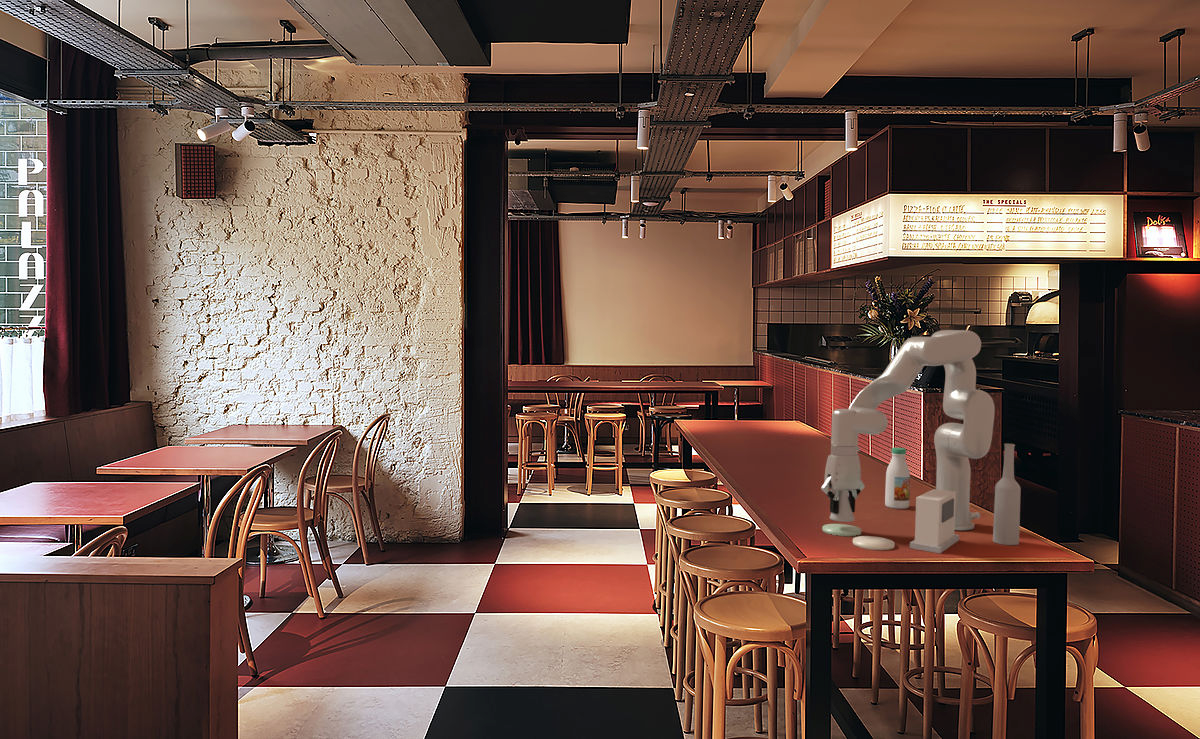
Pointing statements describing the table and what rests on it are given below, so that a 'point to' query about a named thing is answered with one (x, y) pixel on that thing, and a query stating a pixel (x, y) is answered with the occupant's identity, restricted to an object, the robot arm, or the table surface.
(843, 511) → the flask
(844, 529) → the green pad
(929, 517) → the control unit
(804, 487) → the table surface
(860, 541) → the cream pad
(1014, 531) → the bottle
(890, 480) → the milk bottle
